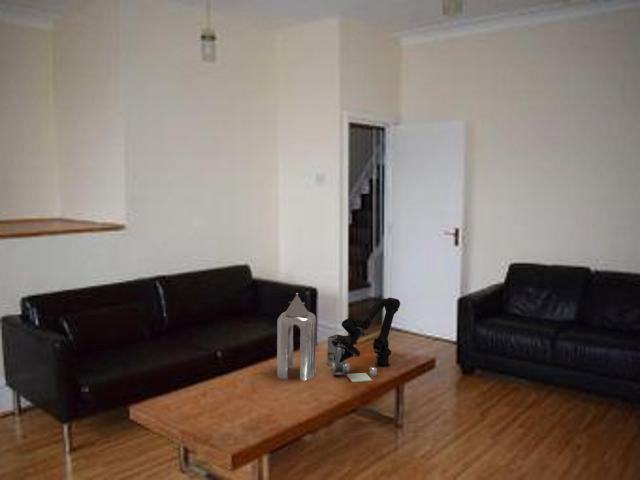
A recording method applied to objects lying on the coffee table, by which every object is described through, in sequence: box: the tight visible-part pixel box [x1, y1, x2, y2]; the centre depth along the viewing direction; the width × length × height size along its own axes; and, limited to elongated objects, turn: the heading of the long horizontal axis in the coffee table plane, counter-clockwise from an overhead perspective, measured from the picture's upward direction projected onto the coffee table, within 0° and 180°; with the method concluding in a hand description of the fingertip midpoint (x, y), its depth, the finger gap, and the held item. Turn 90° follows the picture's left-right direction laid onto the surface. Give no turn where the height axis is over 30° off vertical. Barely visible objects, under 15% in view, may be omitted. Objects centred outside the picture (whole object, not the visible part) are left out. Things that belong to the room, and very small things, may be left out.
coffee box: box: [326, 333, 346, 366], centre depth 334 cm, size 9×6×16 cm
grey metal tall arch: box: [276, 292, 317, 381], centre depth 314 cm, size 20×20×45 cm
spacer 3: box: [369, 366, 378, 377], centre depth 316 cm, size 4×4×4 cm
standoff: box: [332, 346, 345, 376], centre depth 312 cm, size 6×6×14 cm
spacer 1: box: [331, 361, 335, 371], centre depth 324 cm, size 4×4×4 cm
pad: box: [346, 372, 373, 383], centre depth 311 cm, size 11×11×1 cm
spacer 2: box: [343, 362, 351, 373], centre depth 321 cm, size 4×4×4 cm
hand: (337, 361), depth 312 cm, fingers closed on standoff, 4 cm apart
